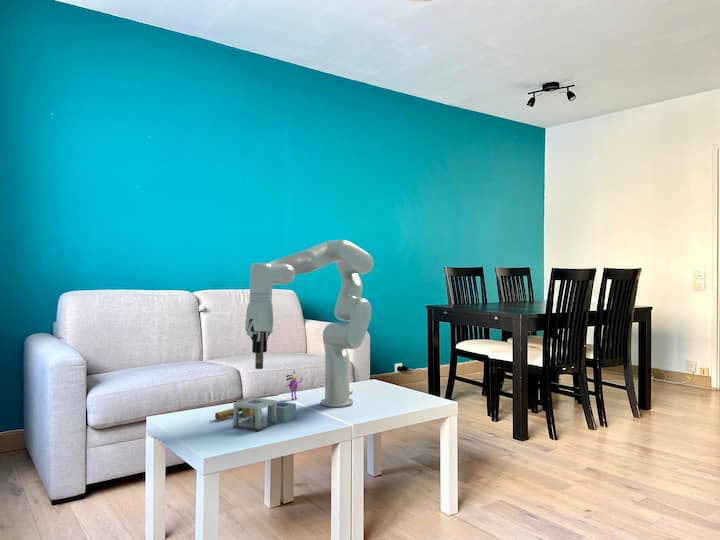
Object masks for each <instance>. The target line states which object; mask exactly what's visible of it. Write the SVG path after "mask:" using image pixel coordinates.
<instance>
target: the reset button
mask: <svg viewBox="0 0 720 540" xmlns="http://www.w3.org/2000/svg"><path fill="white" fill-rule="evenodd" d="M249 415H253V418H255V410H250V411H249Z"/></svg>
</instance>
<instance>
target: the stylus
mask: <svg viewBox="0 0 720 540" xmlns="http://www.w3.org/2000/svg"><path fill="white" fill-rule="evenodd" d="M256 336H257V334H256ZM260 341H261V353H255V359H254V360H255V364H254V366H255V367H254V368H255V370H262V369H264V352H263V345H264V332H260Z"/></svg>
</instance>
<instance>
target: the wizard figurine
mask: <svg viewBox="0 0 720 540" xmlns="http://www.w3.org/2000/svg"><path fill="white" fill-rule="evenodd" d="M297 373H298V372H296V371H295V370H293V373H291V374H288V375H286V381H289V380H290V382H289V383H288V384H285V385H284V386H285V387H286V388H287V387H289V390H290V391H291V400H292V401H294V400H297V399H298V397H297V389H298V388H299V387H298V386H299V383H302V382H303V378H302V376H301V377H300V380H299V381H297V378H298V376H297Z"/></svg>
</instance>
